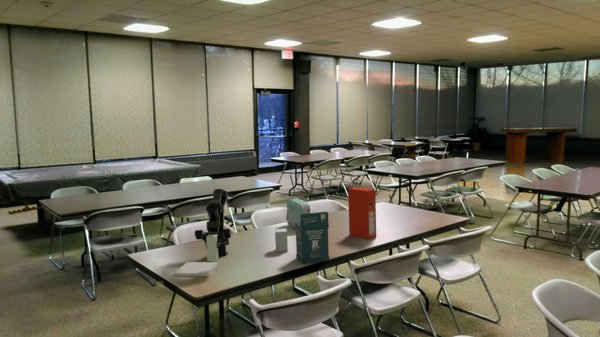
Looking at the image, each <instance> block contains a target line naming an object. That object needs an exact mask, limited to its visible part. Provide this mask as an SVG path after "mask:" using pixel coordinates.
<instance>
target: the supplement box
mask: <svg viewBox="0 0 600 337" xmlns="http://www.w3.org/2000/svg"><path fill="white" fill-rule="evenodd" d="M274 238H275V239H274V240H275V252H276V253H284V252H288V251H289V250H288V249H289V246H288V231H287V228H277V229H274Z"/></svg>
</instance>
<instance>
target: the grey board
mask: <svg viewBox="0 0 600 337" xmlns="http://www.w3.org/2000/svg"><path fill="white" fill-rule="evenodd" d="M218 266H219V262H218V261H207V262H206V261H204V262H203V261H202V262H201V261H196V262H195V261H194V262H193V261H187V262H185V263H184V264H183V265H182V266H180V268H178V269H177V270H176V271H174V272H173V276H175V277H208V276H209V275H210V274H211V273H212V272H213V271H214V270H215V269H216V268H217V267H218Z"/></svg>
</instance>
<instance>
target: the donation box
mask: <svg viewBox="0 0 600 337" xmlns="http://www.w3.org/2000/svg"><path fill="white" fill-rule="evenodd" d="M329 224H330V223H329V212H328V211H321V212H310V213H308V214H301V220H300V221H297V222H295V227H296V229H295V242H296V243H295V244H296V246H295V247H296V253H295V257H296V259H297V261H298V262H300V264H301V265H306V264H315V263H323V262H330V257H331V256H330V255H329V254H330V252H329V228H330V226H329Z"/></svg>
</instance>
